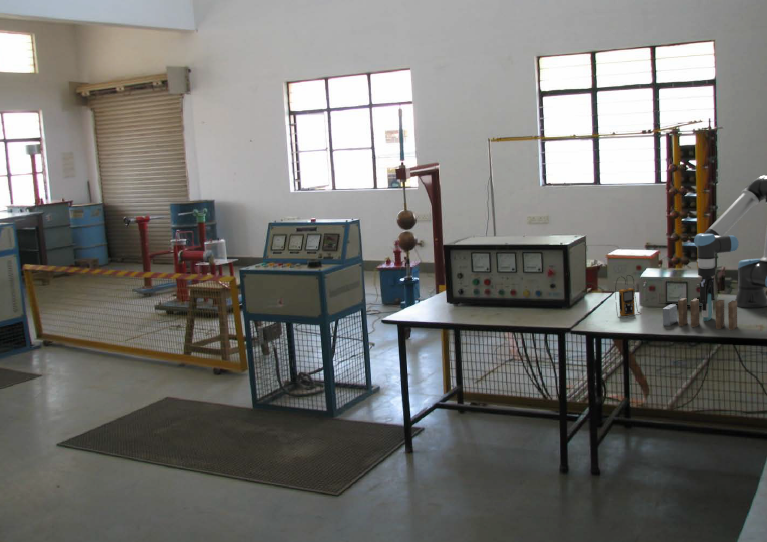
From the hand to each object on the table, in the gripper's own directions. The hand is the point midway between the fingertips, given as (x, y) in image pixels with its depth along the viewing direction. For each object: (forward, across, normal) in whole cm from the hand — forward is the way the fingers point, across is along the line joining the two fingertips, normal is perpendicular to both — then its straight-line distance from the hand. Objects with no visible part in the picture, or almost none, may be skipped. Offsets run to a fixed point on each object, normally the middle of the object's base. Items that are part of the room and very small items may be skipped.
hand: (707, 315), depth 372 cm
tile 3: (+2, 0, 0) cm, 2 cm away
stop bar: (+2, +13, -13) cm, 18 cm away
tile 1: (+2, +13, +15) cm, 20 cm away
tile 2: (+2, +13, +10) cm, 16 cm away
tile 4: (+2, +13, -1) cm, 13 cm away
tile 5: (+2, +13, -7) cm, 15 cm away
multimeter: (+2, +4, -35) cm, 35 cm away
